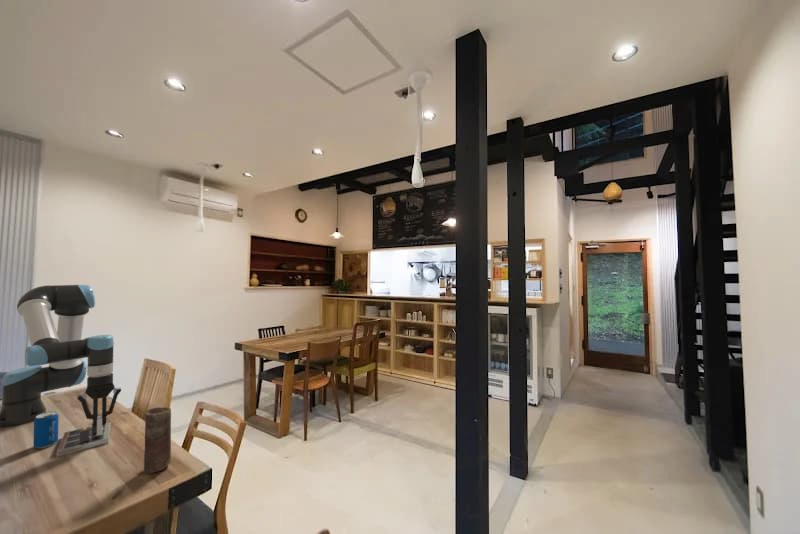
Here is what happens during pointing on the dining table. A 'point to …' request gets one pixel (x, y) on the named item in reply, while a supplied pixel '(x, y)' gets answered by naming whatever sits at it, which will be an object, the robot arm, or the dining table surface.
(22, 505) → the dining table surface
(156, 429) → the candle
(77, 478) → the dining table surface
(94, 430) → the block
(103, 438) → the panel
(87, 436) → the breaker
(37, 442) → the beverage can
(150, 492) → the dining table surface
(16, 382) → the robot arm
